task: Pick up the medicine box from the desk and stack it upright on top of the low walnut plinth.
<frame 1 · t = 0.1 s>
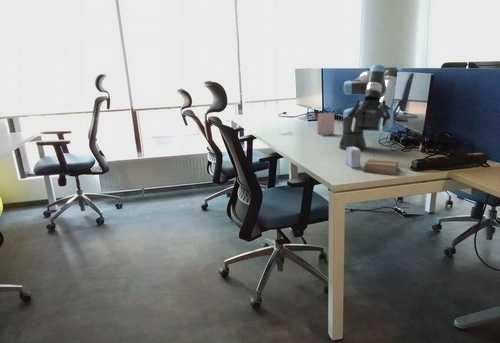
hand: (366, 130, 184), 15 cm above the table, tool tilted 35°, fingers open, 13 cm apart
medicine box: (352, 166, 181), on the table
pink rectangular block: (326, 135, 261), on the table
plinth: (381, 170, 171), on the table
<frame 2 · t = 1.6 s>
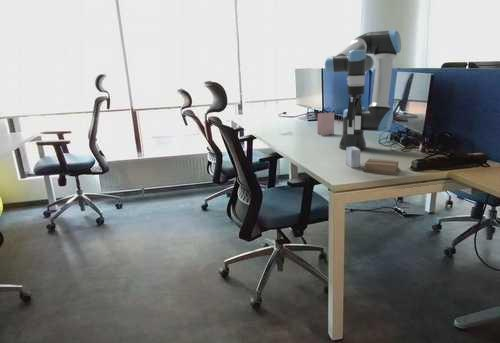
hand: (354, 131, 176), 17 cm above the table, tool pointing down, fingers open, 13 cm apart
nothing on the table moved.
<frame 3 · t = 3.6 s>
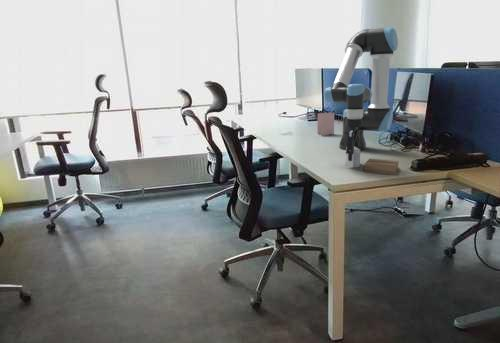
hand: (352, 164, 180), 0 cm above the table, tool pointing down, fingers closed on medicine box, 9 cm apart
medicine box: (352, 166, 181), on the table, touching gripper
everything else where it was.
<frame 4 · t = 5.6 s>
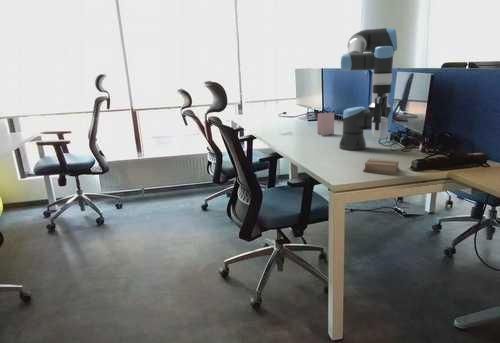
hand: (379, 135, 167), 16 cm above the table, tool pointing down, fingers closed on medicine box, 9 cm apart
medicine box: (379, 137, 167), point 15 cm above the table, touching gripper
everything else where it was.
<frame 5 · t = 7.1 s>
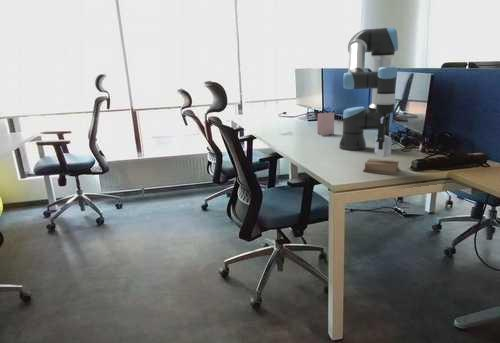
hand: (382, 154, 168), 8 cm above the table, tool pointing down, fingers closed on medicine box, 9 cm apart
medicine box: (382, 155, 169), point 7 cm above the table, touching gripper
everything else where it was.
when the fingers open (6 cm above the table, at t = 8.0 s): medicine box drops 1 cm, resting on plinth.
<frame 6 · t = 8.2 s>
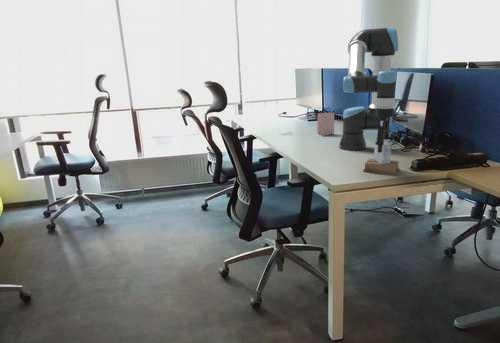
hand: (382, 156, 169), 7 cm above the table, tool pointing down, fingers open, 11 cm apart
medicine box: (381, 162, 170), point 4 cm above the table, touching plinth
everything else where it was.
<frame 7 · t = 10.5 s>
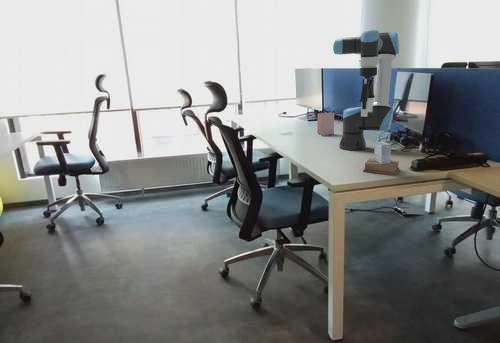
hand: (366, 114, 175), 24 cm above the table, tool pointing down, fingers open, 13 cm apart
nothing on the table moved.
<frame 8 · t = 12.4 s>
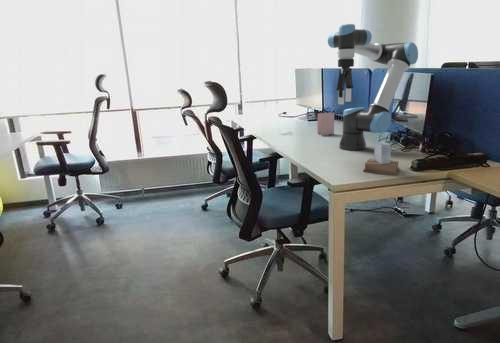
hand: (344, 102, 187), 29 cm above the table, tool pointing down, fingers open, 13 cm apart
nothing on the table moved.
at the end: medicine box inside the target area on the plinth (0.1 cm from its centre), point 3.8 cm above the plinth's base; medicine box tilted 0°; the gripper is holding nothing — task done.
